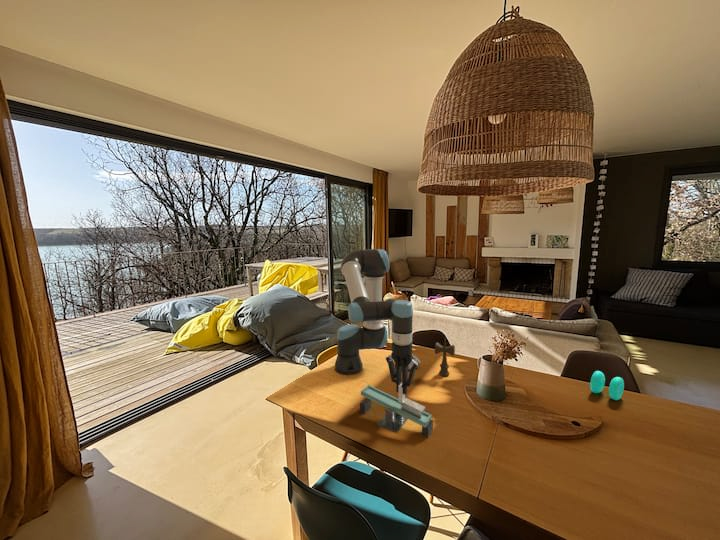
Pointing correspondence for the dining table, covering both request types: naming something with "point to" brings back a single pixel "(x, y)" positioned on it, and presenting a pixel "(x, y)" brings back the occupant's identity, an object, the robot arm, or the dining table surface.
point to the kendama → (444, 356)
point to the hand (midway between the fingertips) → (401, 400)
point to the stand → (393, 419)
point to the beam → (393, 404)
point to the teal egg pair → (614, 388)
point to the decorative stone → (414, 360)
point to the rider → (413, 408)
